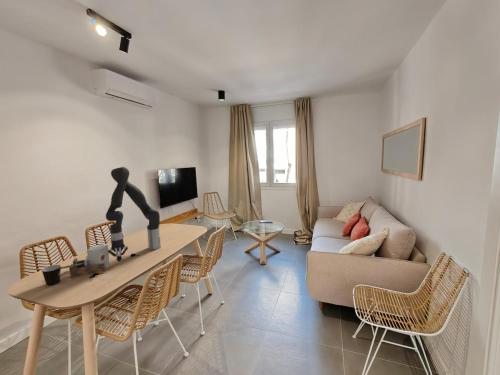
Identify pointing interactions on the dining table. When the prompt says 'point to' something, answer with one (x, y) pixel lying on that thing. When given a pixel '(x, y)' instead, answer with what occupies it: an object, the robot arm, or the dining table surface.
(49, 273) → the coffee mug
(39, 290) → the dining table surface
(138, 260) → the dining table surface
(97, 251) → the supplement box
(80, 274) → the brown wooden box
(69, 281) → the dining table surface
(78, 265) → the pusher plate
